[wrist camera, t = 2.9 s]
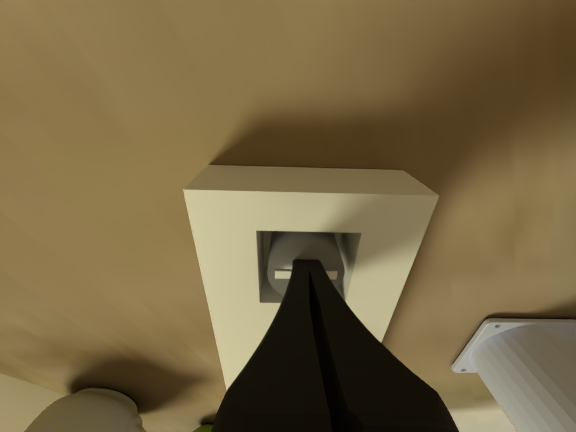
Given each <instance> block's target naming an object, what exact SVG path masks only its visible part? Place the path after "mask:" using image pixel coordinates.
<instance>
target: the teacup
mask: <svg viewBox="0 0 576 432" xmlns="http://www.w3.org/2000/svg"><path fill="white" fill-rule="evenodd" d="M24 432H146V431H145V429H144V428H143V427H142V419H141V417H140V416H139V414H138V409H137V406H136V404H135V403H134V401H133V400H132V399H130V398H129V397H128V396H126V395H124V394H122V393H120V392H117V391H114V390H110V389H105V388H87V389H83V390H80V391H78V392H77V393H74V394H71V395H68V396H65V397H62V398H60V399H59V400H57V401H55V402H53V403H52V404H51V405H49V406H48V407H47V408H46V409H45V410H44V411H42V412H41V414H40V415H39V416H38V417H37V418H36V419H35V420H34V421H33V422H32V423H31V424H30V426H29V427H28V428H27V429H26V430H25V431H24Z"/></svg>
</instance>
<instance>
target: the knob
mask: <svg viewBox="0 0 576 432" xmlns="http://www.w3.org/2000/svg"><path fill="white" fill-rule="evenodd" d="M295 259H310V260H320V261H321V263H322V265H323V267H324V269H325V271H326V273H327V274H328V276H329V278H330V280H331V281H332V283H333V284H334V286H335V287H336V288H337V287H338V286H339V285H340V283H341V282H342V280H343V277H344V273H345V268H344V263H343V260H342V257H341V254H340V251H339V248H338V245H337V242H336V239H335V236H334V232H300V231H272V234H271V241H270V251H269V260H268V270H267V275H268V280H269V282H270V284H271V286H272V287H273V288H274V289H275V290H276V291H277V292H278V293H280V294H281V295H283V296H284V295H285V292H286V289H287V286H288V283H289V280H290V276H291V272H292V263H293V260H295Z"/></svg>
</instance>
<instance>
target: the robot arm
mask: <svg viewBox="0 0 576 432" xmlns="http://www.w3.org/2000/svg"><path fill="white" fill-rule="evenodd" d="M451 368H452V370H453V371H454V372H456V373H478V374H479V376H480V377H481V379H482V380H483V382H484V383H485V385H486V386H487V388H488V389H489V391H490V392H491V394H492V395H493V397H494V398H495V400H496V401H497V403H498V404H499V406H500V407H501V409H502V410H503V412H504V413H505V415H506V416H507V418H508V419H509V421H510V422H511V424H512V425H513V427H514V428H515V430H516V431H517V432H576V320H573V319H503V318H490V319H486V320H485V321H484V322H483V323H482V325H481V326H480V327H479V329H478V330H477V332H476V333H475V334H474V336H473V337H472V338H471V340H470V341H469V343H468V344H467V345H466V347H465V348H464V350H463V351H462V352H461V354H460V355H459V357H458V358H457V359H456V361H455V362H454V363H453V365H452V367H451ZM211 432H459V431H458V429H457V427H456V425H455V423H454V421H453V419H452V417H451V415H450V413H449V411H448V409H447V407H446V406H445V404H444V403H443V401H442V399H441V398H440V396H439V394H438V393H437V392H436V391H435V390H434V389H433V388H431V387H430V386H429V385H428V384H426V383H425V382H424V381H423V380H421V379H420V378H419V377H418V376H417V375H415V374H414V373H413V372H412V371H410V370H409V369H408V368H407V367H406V366H405V365H404V364H403V363H401V362H400V361H399V360H398V359H397V358H396V357H395V356H394V355H393V354H392V353H391V352H390V351H389V350H388V349H387V348H386V347H385V346H384V345H383V344H382V343H381V342H380V341H379V340H378V339H376V338H375V336H374V335H373V334H372V333H371V332H370V331H369V330H368V329H367V328H366V327H365V326H364V324H363V323H362V322H361V321H360V320H359V319H358V317H357V316H356V315H355V314H354V313H353V311H352V310H351V309H350V307H349V306H348V305H347V303H346V302H345V301H344V299H343V298H342V296H341V295H340V294H339V292H338V291H337V289H336V287H335V286H334V284H333V283H332V281H331V280H330V278H329V276H328V274H327V273H326V271H325V269H324V267H323V265H322V263H321V261H320V260H310V259H295V260H293V263H292V272H291V276H290V280H289V283H288V286H287V289H286V292H285V295H284V297H283V299H282V302H281V304H280V307H279V309H278V311H277V313H276V315H275V317H274V319H273V321H272V323H271V325H270V327H269V329H268V330H267V332H266V334H265V336H264V337H263V339H262V341H261V342H260V344H259V346H258V347H257V349H256V350H255V352H254V353H253V355H252V356H251V358H250V359H249V361H248V362H247V364H246V365H245V366H244V368H243V369H242V371H241V372H240V373H239V375H238V376H237V377H236V379H235V380H234V381H233V383H232V384H231V385H230V387H229V388H228V390H227V392H226V394H225V396H224V398H223V400H222V403H221V405H220V407H219V410H218V412H217V414H216V417H215V420H214V423H213V426H212V429H211Z"/></svg>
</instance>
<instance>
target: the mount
mask: <svg viewBox="0 0 576 432" xmlns="http://www.w3.org/2000/svg"><path fill="white" fill-rule="evenodd" d="M183 191H184V196H185V201H186V205H187V210H188V214H189V219H190V224H191V228H192V233H193V237H194V242H195V247H196V251H197V256H198V260H199V265H200V270H201V274H202V279H203V283H204V288H205V293H206V297H207V302H208V306H209V311H210V316H211V320H212V325H213V329H214V334H215V339H216V343H217V348H218V352H219V357H220V362H221V366H222V371H223V375H224V380H225V385H226V389H227V390H228V388H229V387H230V385H231V384H232V383H233V381H234V380H235V379H236V377H237V376H238V375H239V373H240V372H241V371H242V369H243V368H244V366H245V365H246V364H247V362H248V361H249V359H250V358H251V356H252V355H253V353H254V352H255V350H256V349H257V347H258V346H259V344H260V342H261V341H262V339H263V337H264V336H265V334H266V332H267V330H268V329H269V327H270V325H271V323H272V321H273V319H274V317H275V315H276V313H277V311H278V309H279V307H280V304H281V302H282V299H283V297H284V296H283V295H281V294H280V293H278V292H277V291H276V290H275V289H274V288H273V287H272V286H271V284H270V282H269V280H268V275H267V270H268V260H269V251H270V241H271V234H272V231H300V232H334V236H335V239H336V242H337V245H338V248H339V251H340V254H341V257H342V260H343V263H344V268H345V273H344V277H343V280H342V282H341V283H340V285H339V286H338V287H337V288H336V289H337V291H338V292H339V294H340V295H341V296H342V298H343V299H344V301H345V302H346V303H347V305H348V306H349V307H350V309H351V310H352V311H353V313H354V314H355V315H356V316H357V317H358V319H359V320H360V321H361V322H362V323H363V324H364V326H365V327H366V328H367V329H368V330H369V331H370V332H371V333H372V334H373V335H374V336H375V338H376V339H378V340H379V341H380V342H382V340H383V337H384V335H385V332H386V330H387V327H388V325H389V322H390V320H391V317H392V315H393V312H394V310H395V307H396V304H397V302H398V299H399V297H400V294H401V292H402V289H403V287H404V284H405V282H406V279H407V277H408V274H409V272H410V269H411V267H412V264H413V262H414V259H415V257H416V254H417V251H418V249H419V246H420V244H421V241H422V239H423V236H424V234H425V231H426V229H427V226H428V224H429V221H430V219H431V216H432V214H433V211H434V209H435V206H436V204H437V201H438V198H439V195H438V194H436V193H435V192H433V191H432V190H431V189H429V188H428V187H426V186H425V185H424V184H422V183H421V182H419V181H418V180H416V179H415V178H414V177H412V176H411V175H409V174H408V173H407V172H405V171H404V170H381V169H343V168H306V167H268V166H231V165H208V166H207V167H205V168H204V169H203V170H202V171H201V172H200V173H199V174H198V175H197V176H196V177H195V178H194V179H193V180H192V181H191V182H190V183H189V184H188V185H187V186H186V187H185V188H184V189H183Z"/></svg>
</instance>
